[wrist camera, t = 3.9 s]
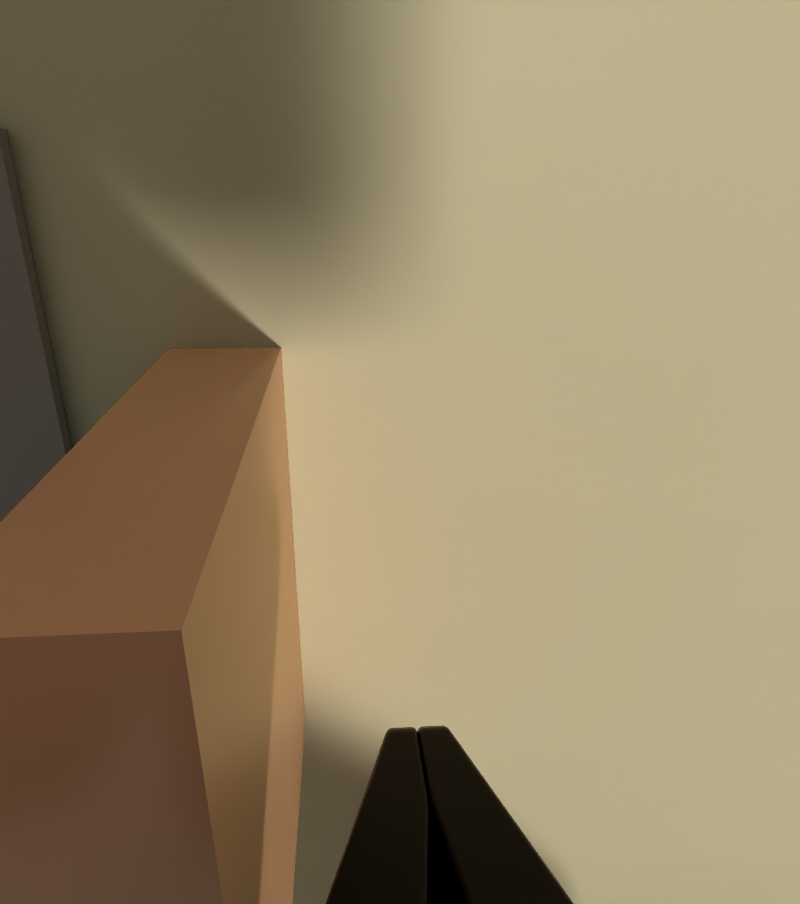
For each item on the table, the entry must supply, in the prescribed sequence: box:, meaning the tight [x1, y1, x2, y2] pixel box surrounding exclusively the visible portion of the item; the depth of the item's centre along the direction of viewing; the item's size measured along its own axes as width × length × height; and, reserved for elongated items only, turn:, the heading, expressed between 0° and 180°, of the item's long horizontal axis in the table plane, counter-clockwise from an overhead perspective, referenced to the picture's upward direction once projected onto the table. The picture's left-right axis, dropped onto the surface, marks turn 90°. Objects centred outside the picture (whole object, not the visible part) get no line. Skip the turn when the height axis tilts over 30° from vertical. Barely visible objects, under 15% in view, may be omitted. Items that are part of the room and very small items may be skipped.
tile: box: [0, 347, 305, 904], centre depth 10 cm, size 9×2×8 cm, turn 179°
